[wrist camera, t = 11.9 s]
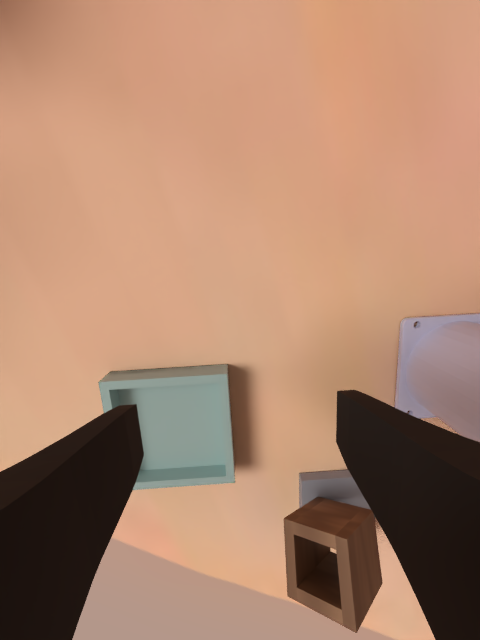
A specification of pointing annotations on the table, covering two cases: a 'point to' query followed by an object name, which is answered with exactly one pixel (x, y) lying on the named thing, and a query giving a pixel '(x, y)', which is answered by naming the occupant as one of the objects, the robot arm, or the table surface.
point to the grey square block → (330, 488)
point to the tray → (178, 423)
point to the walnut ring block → (333, 560)
